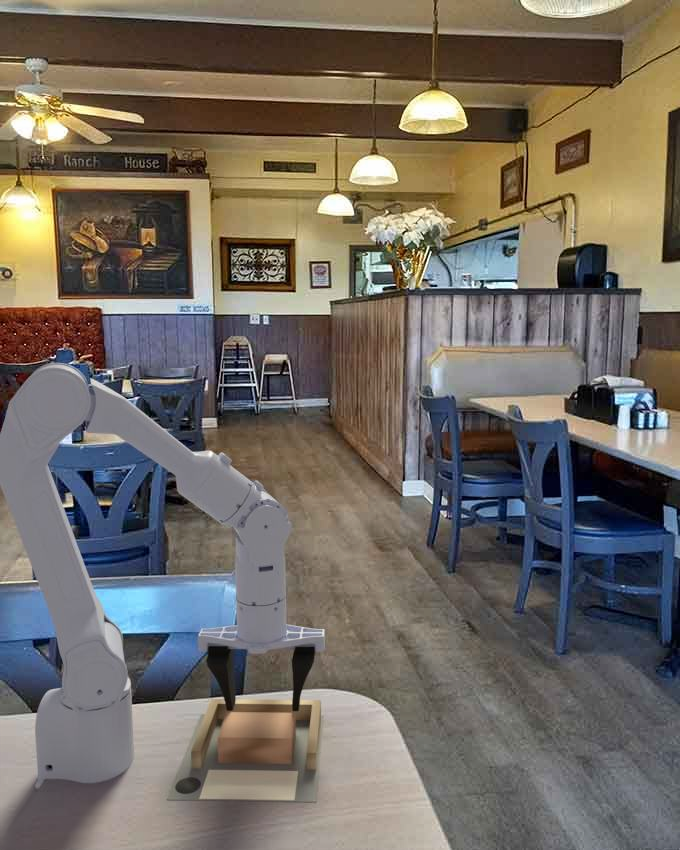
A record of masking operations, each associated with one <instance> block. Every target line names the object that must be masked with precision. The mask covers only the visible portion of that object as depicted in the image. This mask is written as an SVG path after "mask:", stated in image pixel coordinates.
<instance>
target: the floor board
mask: <svg viewBox="0 0 680 850" xmlns="http://www.w3.org/2000/svg"><path fill="white" fill-rule="evenodd" d="M205 714H206V713H202V714H200V716H199V719H198V720H197V721H198V722H197V724H196V727H195V729H194V731H193V733H192V737H191V739H190V742H189V744H188V747H187V749H186V752H185V753H184V756H183V758H182V761H181V764H180V765H179V769H178V772H177V774H176V776H175V779H174V781H173V784H172V785H171V788H170V791H169V794H168V796H167V799H166V801H196V802H197V801H203V802H205V801H206V802H210V801H211V802H259V803H261V802H264V803H267V802H268V803H271V802H272V803H274V802H275V803H278V802H279V803H317V799H318V798H317V796H318V787H319V785H318V784H319V774H320V763H321V752H322V751H321V750H322V740H323V729H324V728H323V726H324V715H321V722H320V733H319V744H318V755H317V766H316V770H307V745H308V737H309V728H310V720H296V739H295V746H294V753H293V759H292V764H256V763H218V735H219V732H220V729H221V726H222V723H223V720H224V719H218V721H217V724H216V727H215V730H214V733H213V735H212V738H211V741H210V744H209V747H208V750H207V752H206V755H205V758H204V761H203V764H202V767H201V769H197V768H192V766H191V750H192V747H193V745H194V742H195V740H196V737H197V735H198V732H199V729H200V727H201V724H202V722H203V719H204V717H205Z"/></svg>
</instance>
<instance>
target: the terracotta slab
mask: <svg viewBox="0 0 680 850" xmlns="http://www.w3.org/2000/svg"><path fill="white" fill-rule="evenodd" d="M295 739H296V713H267V712H226V714H225V717H224V720H223V723H222V726H221V729H220V732H219V735H218V763H256V764H292V759H293V753H294V746H295Z"/></svg>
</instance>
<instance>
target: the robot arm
mask: <svg viewBox="0 0 680 850" xmlns="http://www.w3.org/2000/svg"><path fill="white" fill-rule="evenodd" d="M90 385H91V387H90ZM90 385H89V382H88V380H87V378H86V376H85V375H84V374H83V373H82V372H81V371H80V370H79V369H78V368H76V367H75V366H73V365H70V364H68V363H64V362H49V363H47V364H44V365H42V366H40V367H38V368H37V369H36V370H34V371H33V372H32V373H31V375H30V376H28V378H26V380H24V382H23V384H22V385H21V386H20V388H18V390H17V391H16V393H14V395H13V396H12V398H11V399H10V400H9V403H8V405H7V410H6V414H5V418H4V420H3V424H2V428H1V430H0V489H1V491H2V494H3V496H4V499H5V501H6V504H7V506H8V509H9V511H10V514H11V516H12V519H13V522H14V524H15V527H16V530H17V533H18V534H19V537H20V540H21V542H22V543H21V544H22V545H23V548H24V550H25V553H26V556H27V558H28V560H29V562H30V566H31V568H32V571H33V573H34V576H35V578H36V581H37V584H38V586H39V588H40V591H41V593H42V596H43V599H44V602H45V604H46V605H45V606H46V607H47V609H48V612H49V615H50V618H51V620H52V623H53V627H54V631H55V636H56V641H57V647H58V648H57V649H58V652H59V655H60V658H61V660H62V664H63V673H62V680H61V687H59V688H53V689H52V688H51V689H49V690H47V691H46V692H45V694H44V695H43V697H42V698H41V700H40V703H39V705H38V708H37V712H36V717H35V725H34V727H35V728H34V735H35V748H36V749H35V751H36V761H37V762H36V765H37V778H38V779H37V782H36V783H35V784H34V786H35V789H36V790H39V789H40V787H41V786H42V784H43V783H44V781H45V780H65V781H67V780H68V781H73V782H75V783H81V784H96V783H97V784H98V783H101V782H105V781H109V780H111V779H114V778H116V777H117V776H120V775H121V774H123V773H124V772H126V771H127V770H128V769H129V768H130V767H131V766H132V764H133V762H134V760H135V742H134V725H133V724H134V723H133V722H134V721H133V703H132V702H133V700H132V699H133V698H132V681H131V679H130V677H129V676H128V675H129V672H128V666H127V665H126V661H125V654H124V649H123V648H124V636H123V632H122V630H121V628H120V626H119V625H118V624H117V623H116V622H115V621H113V620H112V619H110V617H108V615H107V614H106V611H105V610H104V607H103V604H102V602H101V600H100V599H99V598H98V596H97V594H96V592H95V589H94V587H93V586H94V585H93V584H92V581H91V578H90V575H89V573H88V570H87V567H86V565H85V562H84V559H83V556H82V554H81V552H80V549H79V546H78V543H77V540H76V537H75V535H74V532H73V530H72V527H71V524H70V521H69V519H68V516H67V514H66V510H65V507H64V505H63V503H62V499H61V497H60V494H59V492H58V488H57V486H56V483H55V481H54V478H53V475H52V472H51V470H50V466H49V465H48V464H49V463H50V461H51V459H52V458H53V456H54V454H55V453H56V451H57V449H58V448H59V446H60V443H61V441H63V440H64V439H65V438H66V437H68V436H69V435H70V434H71V433H73V431H75V430H76V429H78V427H79V426H81V424H83V423H84V422H85V432H86V434H105V435H114V436H117V437H119V438H120V439H121V440H123V441H124V442H126V443H127V444H129V445H130V446H131V447H133V448H135V449H136V450H138V451H139V452H140V453H142V454H143V455H145V456H146V457H147V458H149V459H151V460H153V461H154V462H155V463H157V464H158V465H159V466H161V467H162V468H164V469H165V470H167V471H168V472H170V473H172V474H173V475H174V476H175V481H176V482H175V483H176V490H177V493H178V494H179V495H181V496H182V497H183V498H184V499H187V501H189V502H190V503H192V504H193V505H194V506H196V507H197V508H199V509H200V510H201V511H203V512H204V513H205V514H207V515H208V516H209V517H211V518H213V519H214V520H215V521H217V522H218V523H219V524H221V526H222V525H223V526H226V527H230V528H231V529H232V531H233V532H236V533H237V535H236V536H235V558H234V570H235V571H234V574H235V575H234V576H235V608H236V609H235V610H236V612H235V614H236V615H235V616H236V617H235V618H236V624H235V625H228V626H220V627H211V628H201V629H200V631H199V633H198V634H197V645H198V646H197V648H198V650H197V651H198V652H207V657H206V660H205V661H206V662H205V663H206V666H207V668H208V669H209V670H210V672H211V673H212V675H213V677H214V678H215V680H216V682H217V683H218V686H219V689H220V691H221V695H222V697H223V699H224V700H225V704H226V709H227V711H233V708H234V705H235V701H236V699H237V698H236V683H235V650H248V651H247V653H248V654H251V655H261V654H262V655H263V654H264V655H265V654H266V653H268V651H270V650H293V653H292V658H291V669H292V686H293V687H292V699H291V700H292V711H299V705H300V700H301V695H302V692H303V690H304V689H303V688H304V685H305V682H306V680H307V678H308V676H309V673H310V671H311V669H312V667H313V664H314V662H315V658H316V657H315V655H316V653H324V652H325V649H326V648H325V647H326V634H325V633H326V630H325V629H324V628H311V627H305V626H299V625H298V626H297V625H294V624H287V591H286V590H287V584H286V580H287V579H286V556H285V543H286V542H287V540H288V539H289V537H290V535H291V533H292V529H293V528H292V527H293V523H292V522H290V519H289V515H288V512H287V510H286V509H285V508H284V506H283V505H281V503H280V502H278V500H276V499H275V498H274V497H273V496H271V495H270V493H268V491H267V490H266V489H264V485H263V484H262V483H261V482H260V481H258V480H253V481H251V480H250V479H249V478H248V477H247V476H245V475H243V474H242V472H240V471H238V470H237V469H236V468H234V466H232V465H231V463H232V462H233V460H232V459H231V458H230V457H229V456H227V454H225V453H224V452H219V454H216V453H215V452H214V451H212V450H202V451H192V450H191V449H189V448H188V447H187V446H186V445H184V444H183V443H182V442H181V441H179V440H178V439H177V438H175V437H174V435H172V434H171V433H169V432H168V431H167V430H165V429H164V428H163V427H162V426H161V425H160V424H158V422H156V421H154V420H153V419H152V418H151V417H149V415H147V414H146V413H145V412H143V411H142V410H141V409H140V408H138V407H137V405H135V404H134V403H132V402H131V401H130V400H129V399H127V398H126V397H124V396H123V395H121V394H120V393H118V392H116V391H114V390H113V389H111V388H109V386H107V385H104V384H103V383H101V382H99V381H97V380H95V379H93V378H92V377H90Z"/></svg>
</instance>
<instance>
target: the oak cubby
mask: <svg viewBox="0 0 680 850" xmlns="http://www.w3.org/2000/svg"><path fill="white" fill-rule="evenodd" d="M226 712H267V713H296V720H310V728H309V737H308V745H307V770H316V766H317V755H318V744H319V733H320V722H321V716H322V700H321V699H319V700H316V699H315V700H314V699H313V700H312V699H300V705H299V711H292V699H250V698H249V699H247V698H246V699H243V698H241V699H239V698H238V699H237V698H236V701H235V705H234V708H233V711H227V709H226V704H225V700H224V698H218V699H217V698H215V699H214V698H211V699H210V701H209V703H208V707H207V709H206V712H205V713H204V714H205V717H204V719H203V722H202V724H201V727H200V729H199V732H198V735H197V737H196V740H195V742H194V745H193V747H192V750H191V766H192V768H197V769H201V767H202V764H203V761H204V758H205V755H206V752H207V750H208V747H209V744H210V741H211V738H212V735H213V733H214V730H215V727H216V724H217V721H218V719H224V717H225V714H226Z"/></svg>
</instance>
